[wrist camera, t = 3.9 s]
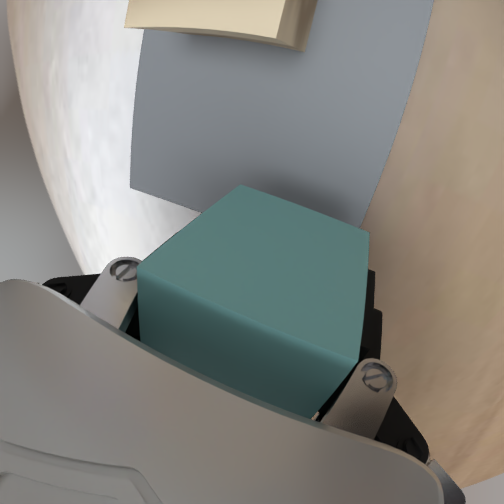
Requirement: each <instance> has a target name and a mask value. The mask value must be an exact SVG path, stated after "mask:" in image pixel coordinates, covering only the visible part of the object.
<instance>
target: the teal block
mask: <svg viewBox="0 0 504 504" xmlns="http://www.w3.org/2000/svg"><path fill="white" fill-rule="evenodd" d="M369 234H370V233H369V232H367V231H365V230H362V229H360V228H357V227H355V226H352V225H350V224H347V223H345V222H342V221H340V220H337V219H334V218H332V217H329V216H327V215H324V214H322V213H319V212H316V211H314V210H311V209H308V208H306V207H303V206H300V205H298V204H295V203H292V202H289V201H287V200H284V199H281V198H278V197H276V196H273V195H270V194H267V193H264V192H261V191H258V190H256V189H253V188H250V187H247V186H244V185H241V184H240V185H239V186H237V187H236V188H235V189H233V190H232V191H231V192H229V193H228V194H227V195H225V196H224V197H223V198H221V199H220V200H219V201H218V202H216V203H215V204H214V205H212V206H211V207H210V208H208V209H207V210H206V211H205V212H203V213H202V214H201V215H199V216H198V217H197V218H196V219H194V220H193V221H192V222H190V223H189V224H188V225H187V226H185V227H184V228H183V229H182V230H180V231H179V232H178V233H177V234H175V235H174V236H173V237H172V238H170V239H169V240H168V241H167V242H166V243H164V244H163V245H162V246H161V247H159V248H158V249H157V250H156V251H155V252H153V253H152V254H151V255H150V256H149V257H147V258H146V259H145V260H144V261H143V262H141V263H140V264H139V265H138V266H137V291H138V312H139V327H140V340H141V342H142V343H143V344H145V345H147V346H149V347H151V348H152V349H154V350H156V351H158V352H160V353H162V354H164V355H165V356H167V357H169V358H171V359H173V360H175V361H177V362H179V363H181V364H183V365H185V366H187V367H189V368H191V369H193V370H195V371H197V372H199V373H201V374H203V375H205V376H207V377H209V378H211V379H213V380H216V381H218V382H220V383H222V384H224V385H226V386H229V387H231V388H233V389H235V390H238V391H240V392H242V393H245V394H247V395H249V396H252V397H254V398H256V399H259V400H261V401H264V402H266V403H269V404H271V405H274V406H276V407H279V408H281V409H284V410H286V411H289V412H292V413H295V414H297V415H300V416H303V417H306V418H308V419H311V418H312V417H313V416H314V415H315V414H316V412H317V411H318V410H319V409H320V408H321V407H322V406H323V404H324V403H325V402H326V401H327V400H328V398H329V397H330V396H331V395H332V394H333V392H334V391H335V390H336V389H337V387H338V386H339V385H340V384H341V382H342V381H343V380H344V379H345V377H346V376H347V375H348V374H349V372H350V371H351V370H352V368H353V367H354V366H355V364H356V363H357V362H358V358H359V351H360V344H361V336H362V328H363V319H364V309H365V299H366V287H367V273H368V257H369Z"/></svg>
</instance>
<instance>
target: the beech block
mask: <svg viewBox="0 0 504 504" xmlns="http://www.w3.org/2000/svg"><path fill="white" fill-rule="evenodd" d="M317 1H318V0H129V4H128V9H127V14H126V20H125V25H124V28H137V29H149V30H159V31H168V32H176V33H183V34H191V35H203V36H214V37H223V38H231V39H238V40H245V41H251V42H257V43H263V44H269V45H274V46H279V47H284V48H288V49H293V50H297V51H301V52H305V49H306V45H307V41H308V37H309V33H310V29H311V25H312V21H313V17H314V13H315V9H316V5H317Z"/></svg>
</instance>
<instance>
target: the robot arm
mask: <svg viewBox="0 0 504 504" xmlns="http://www.w3.org/2000/svg"><path fill="white" fill-rule="evenodd" d="M177 233H178V232H177ZM177 233H176V234H177ZM173 236H174V235H173ZM173 236H172V237H173ZM172 237H171V238H172ZM168 240H169V239H168ZM168 240H167V241H168ZM167 241H166V242H167ZM166 242H165V243H166ZM162 245H163V244H162ZM162 245H161V246H162ZM161 246H160V247H161ZM157 249H158V248H157ZM157 249H156V250H157ZM156 250H155V251H156ZM155 251H154V252H155ZM151 254H152V253H151ZM151 254H150V255H151ZM150 255H149V256H150ZM149 256H148V257H149ZM145 259H146V258H145ZM145 259H144V260H145ZM144 260H143V261H144ZM143 261H141V260H139V259H136V258H133V257H120V258H117V259H114V260H112V261H111V262H110V263H109V264H108V265H107V266H106V267H105V269H104V270H103V272H102V273H101V274H92V275H81V276H69V277H58V278H53V279H50V280H48V281H46V282H45V283H44V284H42V285H40V284H39V283H35V282H31V281H27V280H21V279H10V280H6V281H3V282H0V504H465V503H466V501H465V496H464V494H463V492H462V490H461V489H460V488H459V487H458V486H457V485H456V483H455V482H454V481H453V480H452V479H451V478H450V476H449V475H448V474H447V473H446V472H445V471H444V470H443V468H442V467H441V466H440V465H439V464H438V463H437V461H436V460H435V459H433V460H430V455H429V449H428V444H427V443H426V441H425V439H424V437H423V436H422V435H421V433H420V432H419V431H418V429H417V428H416V426H415V425H414V424H413V422H412V421H411V419H410V418H409V417H408V415H407V414H406V413H405V411H404V410H403V409H402V407H401V406H400V404H399V403H398V402H397V400H396V399H395V398H394V393H395V391H396V388H397V377H396V375H395V373H394V371H393V370H392V369H391V367H390V366H389V365H387V364H386V363H385V362H383V361H381V360H380V353H381V337H382V312H381V311H379V310H377V309H374V291H375V272H374V271H372V270H369V269H368V273H367V287H366V299H365V309H364V319H363V328H362V336H361V344H360V351H359V358H358V362H357V363H356V364H355V366H354V367H353V368H352V370H351V371H350V372H349V374H348V375H347V376H346V377H345V379H344V380H343V381H342V382H341V384H340V385H339V386H338V387H337V389H336V390H335V391H334V392H333V394H332V395H331V396H330V397H329V398H328V400H327V401H326V402H325V403H324V404H323V406H322V407H321V408H320V409H319V410H318V412H319V413H318V414H317V416H316V417H315V419H314V420H311V419H308V418H306V417H303V416H300V415H297V414H295V413H292V412H289V411H286V410H284V409H281V408H279V407H276V406H274V405H271V404H269V403H266V402H264V401H261V400H259V399H256V398H254V397H252V396H249V395H247V394H245V393H242V392H240V391H238V390H235V389H233V388H231V387H229V386H226V385H224V384H222V383H220V382H218V381H216V380H213V379H211V378H209V377H207V376H205V375H203V374H201V373H199V372H197V371H195V370H193V369H191V368H189V367H187V366H185V365H183V364H181V363H179V362H177V361H175V360H173V359H171V358H169V357H167V356H165V355H164V354H162V353H160V352H158V351H156V350H154V349H152V348H151V347H149V346H147V345H145V344H143V343H142V342H141V340H140V327H139V312H138V291H137V266H138V265H139V264H140V263H141V262H143Z"/></svg>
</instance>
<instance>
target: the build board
mask: <svg viewBox="0 0 504 504" xmlns="http://www.w3.org/2000/svg"><path fill="white" fill-rule="evenodd" d="M433 2H434V0H318V1H317V5H316V9H315V13H314V17H313V21H312V25H311V29H310V33H309V37H308V41H307V45H306V49H305V52H301V51H297V50H293V49H288V48H284V47H279V46H274V45H269V44H263V43H257V42H251V41H245V40H238V39H231V38H223V37H214V36H203V35H191V34H183V33H176V32H168V31H159V30H149V29H144V34H143V40H142V46H141V53H140V60H139V67H138V75H137V83H136V92H135V102H134V114H133V127H132V143H131V167H130V188H132V189H135V190H138V191H141V192H144V193H147V194H150V195H153V196H155V197H158V198H161V199H164V200H167V201H170V202H173V203H176V204H178V205H181V206H184V207H187V208H190V209H193V210H196V211H198V212H201V213H203V212H205V211H206V210H207V209H208V208H210V207H211V206H212V205H214V204H215V203H216V202H218V201H219V200H220V199H221V198H223V197H224V196H225V195H227V194H228V193H229V192H231V191H232V190H233V189H235V188H236V187H237V186H239V185H240V184H241V185H244V186H247V187H250V188H253V189H256V190H258V191H261V192H264V193H267V194H270V195H273V196H276V197H278V198H281V199H284V200H287V201H289V202H292V203H295V204H298V205H300V206H303V207H306V208H308V209H311V210H314V211H316V212H319V213H322V214H324V215H327V216H329V217H332V218H334V219H337V220H340V221H342V222H345V223H347V224H350V225H352V226H355V227H357V228H360V226H361V223H362V221H363V219H364V216H365V214H366V212H367V209H368V207H369V204H370V202H371V200H372V197H373V195H374V192H375V190H376V187H377V185H378V182H379V179H380V177H381V174H382V172H383V169H384V166H385V164H386V161H387V158H388V156H389V153H390V150H391V147H392V145H393V142H394V139H395V136H396V133H397V130H398V128H399V125H400V122H401V119H402V116H403V113H404V110H405V106H406V103H407V100H408V97H409V94H410V91H411V87H412V84H413V81H414V77H415V74H416V70H417V67H418V63H419V60H420V56H421V52H422V48H423V45H424V41H425V37H426V33H427V28H428V24H429V20H430V16H431V11H432V6H433Z"/></svg>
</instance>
